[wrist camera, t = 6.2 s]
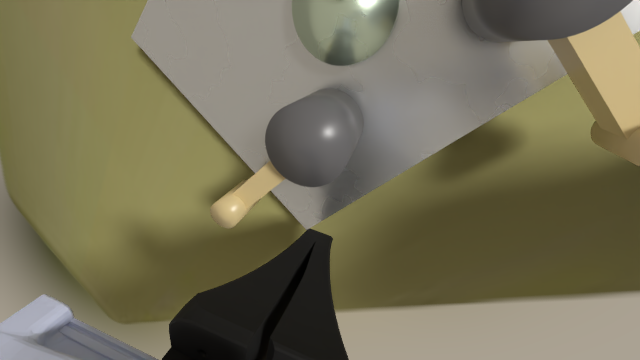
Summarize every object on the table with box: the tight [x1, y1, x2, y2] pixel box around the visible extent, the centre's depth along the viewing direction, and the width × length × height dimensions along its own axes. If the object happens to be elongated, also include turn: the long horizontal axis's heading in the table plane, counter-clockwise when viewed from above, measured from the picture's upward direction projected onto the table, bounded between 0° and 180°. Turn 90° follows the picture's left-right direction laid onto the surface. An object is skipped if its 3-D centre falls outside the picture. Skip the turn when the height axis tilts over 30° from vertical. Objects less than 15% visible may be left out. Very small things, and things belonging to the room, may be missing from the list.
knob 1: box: [210, 88, 364, 228], centre depth 12 cm, size 8×3×4 cm, turn 133°
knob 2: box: [462, 0, 640, 167], centre depth 7 cm, size 8×3×4 cm, turn 43°
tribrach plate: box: [131, 0, 640, 230], centre depth 10 cm, size 14×18×2 cm
